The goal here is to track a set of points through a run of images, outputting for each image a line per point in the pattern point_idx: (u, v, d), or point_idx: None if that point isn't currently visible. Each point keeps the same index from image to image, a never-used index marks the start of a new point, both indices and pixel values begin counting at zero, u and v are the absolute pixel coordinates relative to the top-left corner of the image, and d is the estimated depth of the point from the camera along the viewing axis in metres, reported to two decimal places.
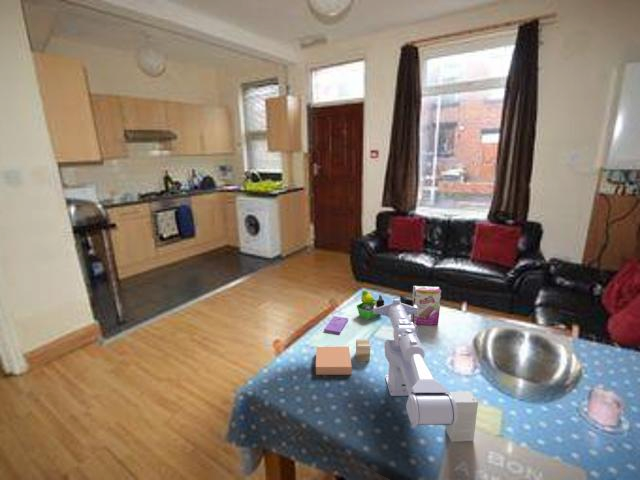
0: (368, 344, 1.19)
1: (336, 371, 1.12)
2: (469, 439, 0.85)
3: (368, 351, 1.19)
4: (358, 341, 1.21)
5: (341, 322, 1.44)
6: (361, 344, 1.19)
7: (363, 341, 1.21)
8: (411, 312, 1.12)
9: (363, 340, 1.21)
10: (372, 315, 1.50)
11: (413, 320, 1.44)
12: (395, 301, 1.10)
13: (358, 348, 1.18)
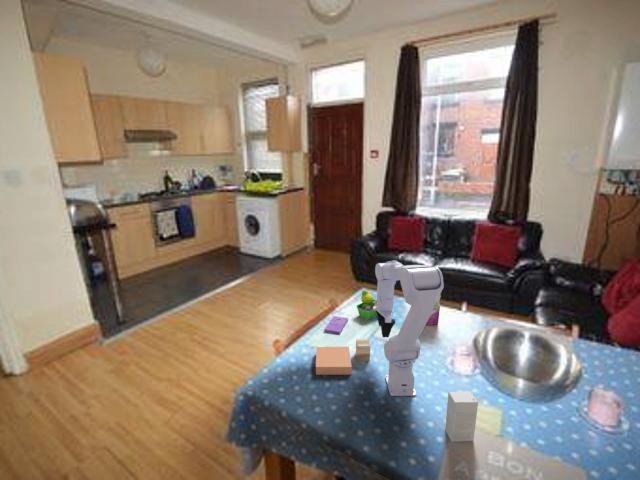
0: (368, 344, 1.19)
1: (336, 371, 1.12)
2: (469, 439, 0.85)
3: (368, 351, 1.19)
4: (358, 341, 1.21)
5: (341, 322, 1.44)
6: (361, 344, 1.19)
7: (363, 341, 1.21)
8: None
9: (363, 340, 1.21)
10: (372, 315, 1.50)
11: None
12: (374, 308, 1.16)
13: (358, 348, 1.18)
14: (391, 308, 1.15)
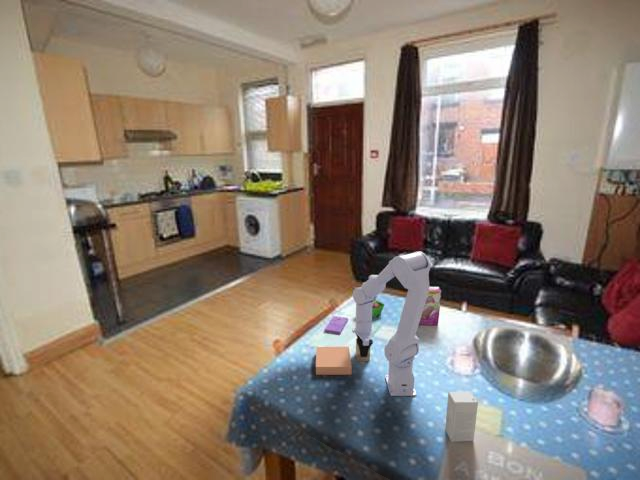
0: None
1: (336, 371, 1.12)
2: (469, 439, 0.85)
3: (368, 351, 1.18)
4: None
5: (341, 322, 1.44)
6: None
7: None
8: None
9: None
10: (372, 315, 1.50)
11: None
12: (353, 330, 1.18)
13: (358, 348, 1.18)
14: (369, 330, 1.17)
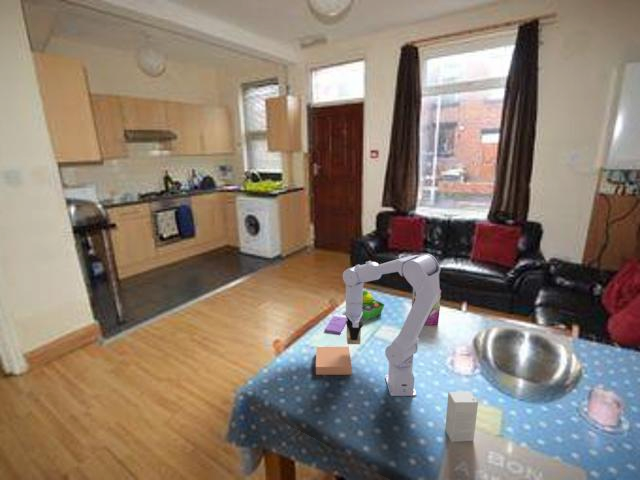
0: None
1: (336, 371, 1.12)
2: (469, 439, 0.85)
3: None
4: None
5: (341, 322, 1.44)
6: None
7: None
8: None
9: None
10: (372, 315, 1.50)
11: None
12: (343, 312, 1.15)
13: (348, 331, 1.15)
14: (360, 313, 1.13)
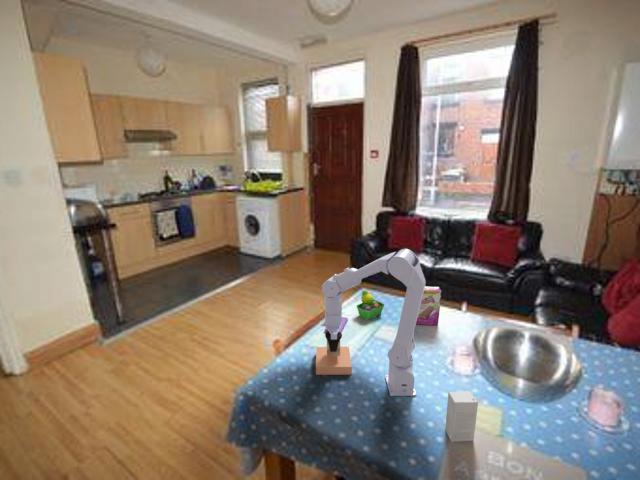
0: None
1: (336, 371, 1.12)
2: (469, 439, 0.85)
3: (338, 346, 1.13)
4: None
5: None
6: None
7: None
8: None
9: None
10: (372, 315, 1.50)
11: None
12: (322, 323, 1.13)
13: None
14: (339, 324, 1.12)
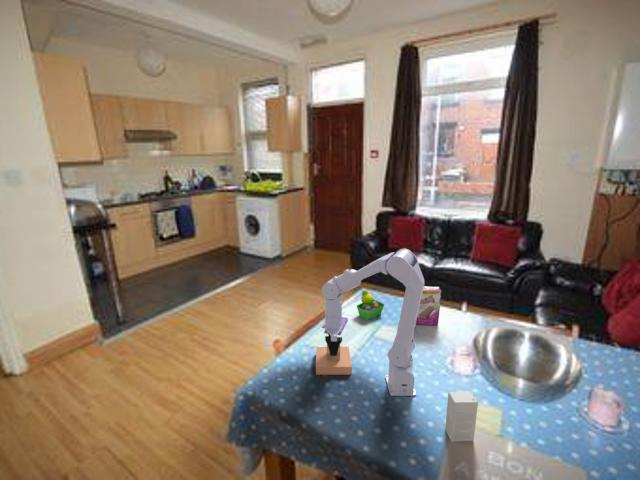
0: None
1: (336, 371, 1.12)
2: (469, 439, 0.85)
3: (338, 350, 1.14)
4: None
5: None
6: None
7: None
8: None
9: None
10: (372, 315, 1.50)
11: None
12: (322, 325, 1.14)
13: (327, 347, 1.14)
14: (339, 326, 1.12)
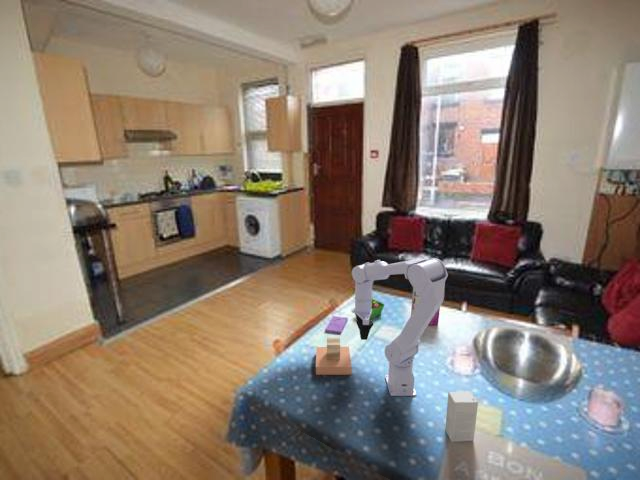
0: (338, 343, 1.14)
1: (336, 371, 1.12)
2: (469, 439, 0.85)
3: (338, 350, 1.14)
4: (328, 340, 1.16)
5: (341, 322, 1.44)
6: (331, 343, 1.14)
7: (333, 340, 1.16)
8: None
9: (334, 339, 1.17)
10: (372, 315, 1.50)
11: None
12: (353, 310, 1.15)
13: (327, 347, 1.14)
14: (369, 310, 1.13)
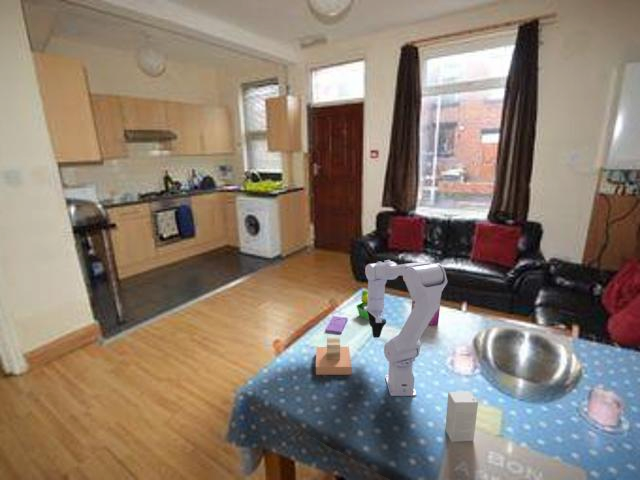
0: (338, 343, 1.14)
1: (336, 371, 1.12)
2: (469, 439, 0.85)
3: (338, 350, 1.14)
4: (328, 340, 1.16)
5: (341, 322, 1.44)
6: (331, 343, 1.14)
7: (333, 340, 1.16)
8: None
9: (334, 339, 1.17)
10: None
11: None
12: (365, 308, 1.16)
13: (327, 347, 1.14)
14: (382, 308, 1.15)
